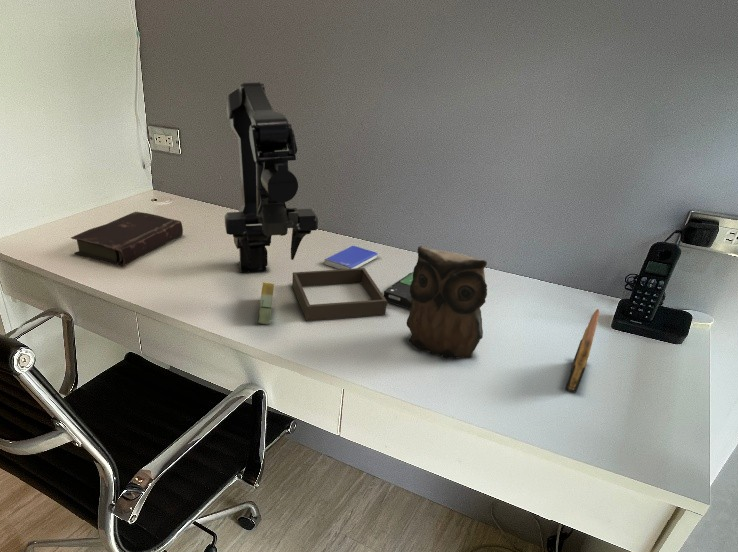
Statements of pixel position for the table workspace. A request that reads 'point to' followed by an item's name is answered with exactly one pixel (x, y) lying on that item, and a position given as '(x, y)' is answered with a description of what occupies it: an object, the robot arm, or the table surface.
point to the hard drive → (350, 258)
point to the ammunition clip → (582, 355)
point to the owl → (447, 303)
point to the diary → (127, 238)
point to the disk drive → (400, 292)
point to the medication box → (266, 303)
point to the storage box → (344, 308)
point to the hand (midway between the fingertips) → (270, 260)
